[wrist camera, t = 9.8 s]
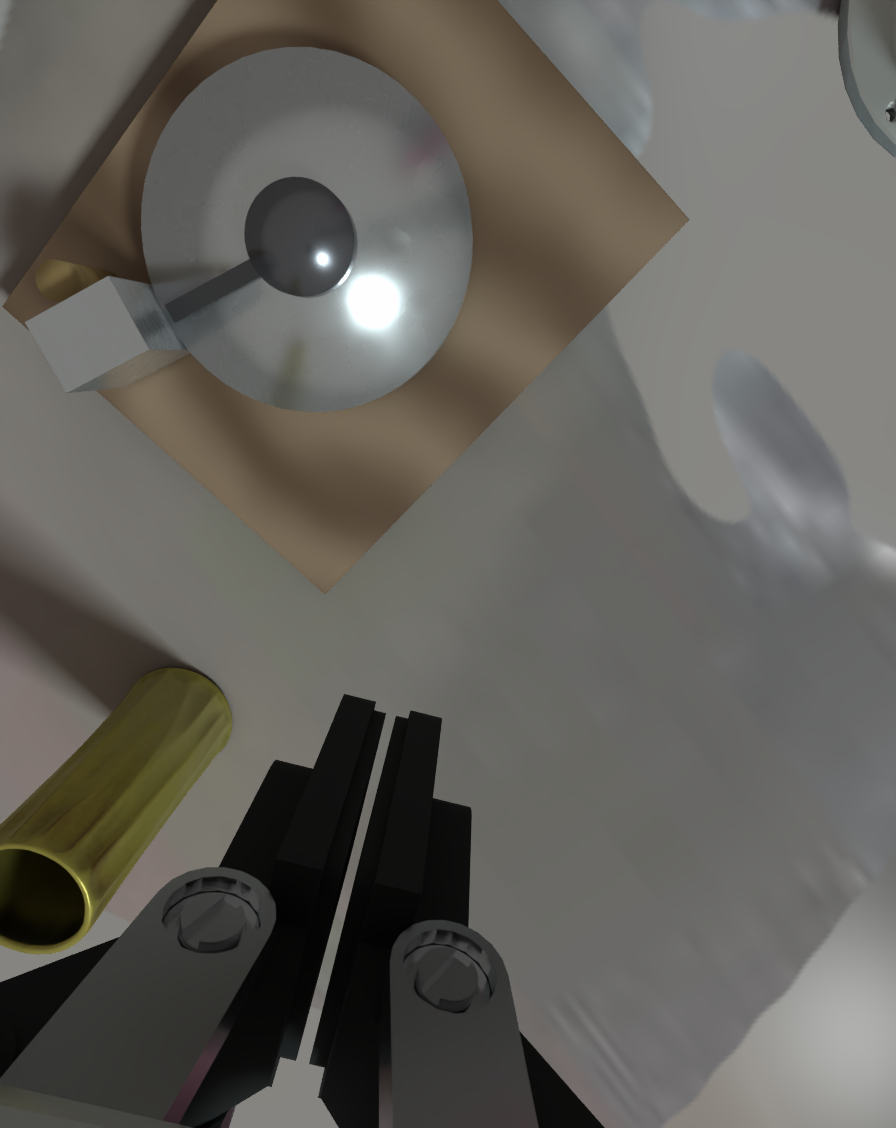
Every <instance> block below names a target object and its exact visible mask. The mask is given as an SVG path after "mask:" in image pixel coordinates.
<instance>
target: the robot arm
mask: <svg viewBox="0 0 896 1128" xmlns="http://www.w3.org/2000/svg"><path fill="white" fill-rule="evenodd" d="M838 44H839V61H840V65H841V70H842V75H843V80H844V84H845V89H846V91H847V94H848V96H849V98H850V101H851V103H852V105H853V108H854V110H855V112H856V114H857V116H858V118H859V119H860V121H861V122H862V123H863V125H864V126H865V128H866V129H867V131H868V132H869V133H870V135H871V136H872V137H873V139H874V140H875V141H876V142H878V143H879V144H880V145H881V146H882V147H883V148H884V149H886V150H887V151H888V152H889V153H890V154H891V155H892V156H893V157H895V158H896V0H841V6H840V13H839V21H838ZM886 112H888V113H889V114H890V121H888V120H887V118H886V115H885V113H886ZM375 703H376V702H374V701H370V700H366V699H362V698H358V697H354V696H350V695H346V694H344V696H343V698H342V700H341V703H340V705H339V707H338V710H337V712H336V715H335V717H334V720H333V722H332V724H331V727H330V729H329V732H328V734H327V737H326V739H325V741H324V744H323V746H322V749H321V751H320V754H319V756H318V758H317V761H316V763H315V766H314V768H313V769H312V768H307V767H303V766H299V765H295V764H291V763H287V762H283V761H279V760H275V761H274V762H273V764H272V765H271V767H270V769H269V771H268V773H267V775H266V777H265V779H264V781H263V782H262V784H261V786H260V788H259V790H258V792H257V794H256V796H255V798H254V800H253V802H252V804H251V806H250V808H249V810H248V811H247V813H246V815H245V817H244V819H243V821H242V823H241V825H240V827H239V829H238V831H237V833H236V835H235V837H234V839H233V840H232V842H231V844H230V846H229V848H228V850H227V852H226V854H225V856H224V858H223V860H222V862H221V864H220V866H219V867H206V868H202V869H198V870H193V871H189V872H186V873H184V874H182V875H180V876H178V877H176V878H174V879H172V880H171V881H170V882H169V883H167V884H166V885H165V886H164V887H163V888H162V889H161V890H159V891H158V892H157V894H156V895H155V896H154V897H153V898H152V899H151V901H150V902H149V903H148V904H147V905H146V907H145V908H144V909H143V910H142V911H141V912H140V914H139V915H138V916H137V917H136V918H135V920H134V921H133V922H132V923H131V924H130V925H129V927H128V928H127V929H126V930H125V931H124V933H123V934H122V935H121V936H120V937H118V938H116V939H113V940H110V941H108V942H105V943H102V944H100V945H97V946H94V947H92V948H89V949H87V950H84V951H82V952H79V953H76V954H74V955H71V956H68V957H66V958H63V959H60V960H58V961H55V962H52V963H50V964H47V965H45V966H42V967H39V968H37V969H34V970H32V971H29V972H26V973H24V974H21V975H18V976H16V977H14V978H11V979H8V980H5V981H3V982H0V1128H229V1126H230V1123H231V1120H232V1117H233V1114H234V1111H235V1106H236V1105H237V1104H239V1103H240V1102H242V1101H244V1100H245V1099H247V1098H249V1097H250V1096H252V1095H254V1094H255V1093H257V1092H259V1091H260V1090H262V1089H263V1088H265V1087H267V1086H270V1087H272V1083H273V1080H274V1077H275V1073H276V1070H277V1066H278V1063H279V1059H280V1057H283V1058H287V1059H291V1060H295V1061H296V1058H297V1055H298V1051H299V1047H300V1044H301V1039H302V1036H303V1032H304V1029H305V1025H306V1021H307V1017H308V1014H309V1010H310V1006H311V1002H312V999H313V995H314V991H315V987H316V984H317V980H318V976H319V972H320V969H321V965H322V961H323V957H324V954H325V950H326V946H327V942H328V939H329V935H330V931H331V928H332V924H333V920H334V916H335V913H336V909H337V905H338V901H339V898H340V894H341V890H342V886H343V883H344V879H345V875H346V871H347V868H348V864H349V860H350V856H351V852H352V848H353V844H354V840H355V836H356V832H357V828H358V824H359V820H360V816H361V812H362V808H363V804H364V800H365V796H366V792H367V788H368V784H369V780H370V776H371V772H372V768H373V764H374V760H375V756H376V752H377V748H378V744H379V740H380V736H381V732H382V728H383V724H384V720H385V715H386V713H383V712H379V711H375V710H374V708H375ZM441 723H442V718H439V717H435V716H431V715H427V714H423V713H419V712H415V711H410V714H409V718H408V719H407V718H403V717H399V716H396V718H395V722H394V726H393V730H392V734H391V738H390V742H389V746H388V750H387V754H386V758H385V762H384V766H383V769H382V773H381V777H380V781H379V785H378V789H377V793H376V797H375V801H374V805H373V809H372V813H371V817H370V821H369V825H368V829H367V833H366V836H365V840H364V844H363V848H362V852H361V856H360V860H359V864H358V868H357V872H356V876H355V880H354V884H353V888H352V892H351V897H350V901H349V905H348V909H347V913H346V917H345V921H344V925H343V929H342V933H341V937H340V941H339V945H338V949H337V953H336V957H335V961H334V965H333V969H332V973H331V977H330V981H329V985H328V989H327V994H326V998H325V1002H324V1006H323V1010H322V1014H321V1018H320V1022H319V1026H318V1030H317V1034H316V1038H315V1042H314V1046H313V1050H312V1054H311V1058H310V1064H312V1065H317V1066H321V1067H325V1070H324V1074H323V1078H322V1083H321V1087H320V1092H319V1096H318V1098H321V1099H322V1101H323V1102H324V1104H325V1106H326V1107H327V1109H328V1110H329V1112H330V1114H331V1116H332V1117H333V1119H334V1120H335V1122H336V1124H337V1125H338V1127H339V1128H604V1127H603V1126H602V1124H601V1123H600V1122H599V1121H598V1120H597V1119H596V1118H595V1116H594V1115H593V1114H592V1113H591V1112H590V1111H589V1110H588V1108H587V1107H586V1106H585V1105H584V1104H583V1103H582V1102H581V1100H580V1099H579V1098H578V1097H577V1096H576V1095H575V1094H574V1093H573V1091H572V1090H571V1089H570V1088H569V1087H568V1086H567V1085H566V1083H565V1082H564V1081H563V1080H562V1079H561V1078H560V1077H559V1075H558V1074H557V1073H556V1072H555V1071H554V1070H553V1069H552V1067H551V1066H550V1065H549V1064H548V1063H547V1062H546V1061H545V1060H544V1058H543V1057H542V1056H541V1055H540V1054H539V1053H538V1052H537V1050H536V1049H535V1048H534V1047H533V1046H532V1045H531V1044H530V1042H529V1041H528V1040H527V1039H526V1038H525V1037H524V1036H523V1034H522V1033H521V1032H520V1031H519V1027H518V1022H517V1017H516V1012H515V1007H514V1002H513V997H512V992H511V987H510V982H509V977H508V973H507V971H506V968H505V965H504V962H503V960H502V958H501V957H500V955H499V954H498V952H497V951H496V950H495V948H494V947H493V945H492V944H491V943H489V942H488V941H487V940H486V939H485V938H484V937H482V936H481V935H480V934H479V933H478V932H476V931H474V930H472V929H470V928H468V919H469V885H470V852H471V818H472V814H471V808H470V807H467V806H463V805H459V804H455V803H451V802H447V801H442V800H438V799H434V798H433V791H434V783H435V774H436V766H437V757H438V749H439V740H440V732H441Z"/></svg>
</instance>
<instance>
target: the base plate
mask: <svg viewBox="0 0 896 1128" xmlns="http://www.w3.org/2000/svg"><path fill="white" fill-rule="evenodd" d="M284 47H313V48H319V49H326V50H332V51H336V52H339V53H342V54H345V55H348V56H352V57H355V58H357V59H359V60H361V61H363V62H365V63H368V64H370V65H372V66H374V67H376V68H378V69H379V70H381V71H382V72H384V73H385V74H387V75H388V76H390V77H391V78H393V79H394V80H396V81H397V82H398V83H399V84H401V85H402V86H403V87H404V88H405V89H406V90H407V91H408V92H409V93H411V94H412V95H413V96H414V97H415V98H416V99H417V100H418V101H419V102H420V104H421V105H422V106H423V107H424V108H425V109H426V111H427V112H428V113H429V114H430V115H431V116H432V118H433V119H434V121H435V122H436V124H437V125H438V127H439V128H440V130H441V131H442V133H443V134H444V136H445V137H446V139H447V141H448V143H449V145H450V147H451V150H452V152H453V154H454V156H455V158H456V160H457V162H458V165H459V168H460V171H461V174H462V177H463V180H464V183H465V186H466V191H467V196H468V200H469V205H470V211H471V221H472V232H473V257H472V267H471V274H470V280H469V285H468V289H467V292H466V296H465V299H464V303H463V306H462V308H461V311H460V313H459V316H458V318H457V320H456V323H455V325H454V327H453V328H452V330H451V332H450V334H449V335H448V337H447V339H446V341H445V342H444V344H443V345H442V346H441V348H440V349H439V350H438V352H437V353H436V354H435V355H434V357H433V358H432V359H431V360H430V361H429V362H428V363H427V364H426V365H425V366H424V367H423V368H422V369H421V370H420V371H419V372H418V373H417V374H416V375H415V376H414V377H412V378H411V379H410V380H408V381H407V382H406V383H404V384H403V385H402V386H400V387H398V388H397V389H395V390H393V391H391V392H390V393H388V394H386V395H384V396H382V397H380V398H377V399H375V400H372V401H370V402H367V403H365V404H362V405H359V406H355V407H351V408H347V409H343V410H336V411H327V412H301V411H294V410H288V409H282V408H278V407H275V406H272V405H268V404H265V403H262V402H259V401H257V400H255V399H252V398H250V397H248V396H246V395H243V394H241V393H240V392H238V391H236V390H235V389H233V388H232V387H230V386H228V385H227V384H225V383H223V382H222V381H221V380H220V379H218V378H217V377H216V376H215V375H213V374H212V373H211V372H209V371H208V370H207V369H206V368H205V367H204V366H203V365H202V364H201V363H200V362H199V361H198V360H197V359H196V358H195V357H194V356H193V355H192V354H191V353H189V354H188V355H186V356H184V357H182V358H180V359H178V360H176V361H174V362H172V363H170V364H168V365H166V366H165V367H163V368H161V369H159V370H157V371H155V372H153V373H151V374H149V375H147V376H145V377H144V378H142V379H140V380H138V381H136V382H134V383H132V384H130V385H128V386H126V387H123V388H113V389H103V390H96V391H98V392H99V393H100V394H101V395H102V396H103V397H104V398H105V399H106V400H108V401H109V402H110V403H111V404H112V405H113V406H114V407H115V408H117V409H118V410H119V411H120V412H121V413H122V414H123V415H124V416H126V417H127V418H128V419H129V420H130V421H131V422H132V423H133V424H135V425H136V426H137V427H138V428H139V429H140V430H141V431H142V432H143V433H145V434H146V435H147V436H148V437H149V438H150V439H151V440H152V441H154V442H155V443H156V444H157V445H158V446H159V447H160V448H161V449H163V450H164V451H165V452H166V453H167V454H168V455H169V456H170V457H172V458H173V459H174V460H175V461H176V462H177V463H178V464H179V465H180V466H182V467H183V468H184V469H185V470H186V471H187V472H188V473H189V474H191V475H192V476H193V477H194V478H195V479H196V480H197V481H198V482H200V483H201V484H202V485H203V486H204V487H205V488H206V489H207V490H209V491H210V492H211V493H212V494H213V495H214V496H215V497H216V498H217V499H219V500H220V501H221V502H222V503H223V504H224V505H225V506H226V507H228V508H229V509H230V510H231V511H232V512H233V513H234V514H235V515H237V516H238V517H239V518H240V519H241V520H242V521H243V522H244V523H246V524H247V525H248V526H249V527H250V528H251V529H252V530H253V531H254V532H256V533H257V534H258V535H259V536H260V537H261V538H262V539H263V540H265V541H266V542H267V543H268V544H269V545H270V546H271V547H272V548H274V549H275V550H276V551H277V552H278V553H279V554H280V555H281V556H283V557H284V558H285V559H286V560H287V561H288V562H289V563H290V564H291V565H293V566H294V567H295V568H296V569H297V570H298V571H299V572H300V573H302V574H303V575H304V576H305V577H306V578H307V579H308V580H309V581H311V582H312V583H313V584H314V585H315V586H316V587H317V588H318V589H320V590H321V591H322V592H323V593H324V594H326V593H327V592H328V591H329V590H330V589H331V588H332V587H333V586H334V585H335V584H336V583H337V582H338V581H339V579H340V578H341V577H342V576H343V575H344V574H345V573H346V572H347V571H348V570H349V569H350V568H351V567H352V566H353V565H354V564H355V563H356V562H357V561H358V560H359V559H360V558H361V557H362V556H363V555H364V554H365V553H366V552H367V551H368V550H369V549H370V548H371V547H372V546H373V545H374V544H375V542H376V541H377V540H378V539H379V538H380V537H381V536H382V535H383V534H384V533H385V532H386V531H387V530H388V529H389V528H390V527H391V526H392V525H393V524H394V523H395V522H396V521H397V520H398V519H399V518H400V517H401V516H402V515H403V514H404V513H405V512H406V511H407V510H408V509H409V508H410V506H411V505H412V504H413V503H414V502H415V501H416V500H417V499H418V498H419V497H420V496H421V495H422V494H423V493H424V492H425V491H426V490H427V489H428V488H429V487H430V486H431V485H432V484H433V483H434V482H435V481H436V480H437V479H438V478H439V477H440V476H441V475H442V474H443V473H444V472H445V471H446V469H447V468H448V467H449V466H450V465H451V464H452V463H453V462H454V461H455V460H456V459H457V458H458V457H459V456H460V455H461V454H462V453H463V452H464V451H465V450H466V449H467V448H468V447H469V446H470V445H471V444H472V443H473V442H474V441H475V440H476V439H477V438H478V437H479V436H480V435H481V433H482V432H483V431H484V430H485V429H486V428H487V427H488V426H489V425H490V424H491V423H492V422H493V421H494V420H495V419H496V418H497V417H498V416H499V415H500V414H501V413H502V412H503V411H504V410H505V409H506V408H507V407H508V406H509V405H510V404H511V403H512V402H513V401H514V400H515V399H516V398H517V396H518V395H519V394H520V393H521V392H522V391H523V390H524V389H525V388H526V387H527V386H528V385H529V384H530V383H531V382H532V381H533V380H534V379H535V378H536V377H537V376H538V375H539V374H540V373H541V372H542V371H543V370H544V369H545V368H546V367H547V366H548V365H549V364H550V363H551V362H552V360H553V359H554V358H555V357H556V356H557V355H558V354H559V353H560V352H561V351H562V350H563V349H564V348H565V347H566V346H567V345H568V344H569V343H570V342H571V341H572V340H573V339H574V338H575V337H576V336H577V335H578V334H579V333H580V332H581V331H582V330H583V329H584V328H585V327H586V326H587V324H588V323H589V322H590V321H591V320H592V319H593V318H594V317H595V316H596V315H597V314H598V313H599V312H600V311H601V310H602V309H603V308H604V307H605V306H606V305H607V304H608V303H609V302H610V301H611V300H612V299H613V298H614V297H615V296H616V295H617V293H618V292H620V290H622V288H623V287H624V286H625V285H626V284H627V283H628V282H629V281H630V280H631V279H632V278H633V277H634V276H635V275H636V274H637V273H638V272H639V271H640V270H641V269H642V268H643V267H644V266H645V265H646V264H647V263H648V262H649V260H650V259H652V258H653V257H654V256H655V254H656V253H658V251H659V250H660V249H661V248H662V247H663V246H664V245H665V244H666V243H667V242H668V241H669V240H670V239H671V238H672V237H673V236H674V235H675V234H676V233H677V232H678V231H679V230H680V229H681V228H682V227H683V226H684V225H685V223H687V222H688V221H689V218H688V217H687V216H686V215H685V214H684V213H683V212H682V211H681V209H680V208H679V207H678V206H677V205H676V204H675V203H674V201H673V200H672V199H671V198H670V197H669V196H668V195H667V193H666V192H665V191H664V190H663V189H662V188H661V187H660V186H659V184H658V183H657V182H656V181H655V180H654V179H653V177H652V176H651V175H650V174H649V173H648V172H647V171H646V169H645V168H644V167H643V166H642V165H641V164H640V163H639V161H638V160H637V159H636V158H635V157H634V156H633V155H632V153H631V152H630V151H629V150H628V149H627V148H626V147H625V145H624V144H623V143H622V142H621V141H620V140H619V139H618V137H617V136H616V135H615V134H614V133H613V132H612V131H611V129H610V128H609V127H608V126H607V125H606V124H605V123H604V122H603V120H602V119H601V118H600V117H599V116H598V115H597V114H596V112H595V111H594V110H593V109H592V108H591V107H590V106H589V104H588V103H587V102H586V101H585V100H584V99H583V98H582V96H581V95H580V94H579V93H578V92H577V91H576V90H575V88H574V87H573V86H572V85H571V84H570V83H569V82H568V80H567V79H566V78H565V77H564V76H563V75H562V74H561V72H560V71H559V70H558V69H557V68H556V67H555V66H554V64H553V63H552V62H551V61H550V60H549V59H548V58H547V56H546V55H545V54H544V53H543V52H542V51H541V50H540V48H539V47H538V46H537V45H536V44H535V43H534V42H533V41H532V39H531V38H530V37H529V36H528V35H527V34H526V33H525V31H524V30H523V29H522V28H521V27H520V26H519V25H518V23H517V22H516V21H515V20H514V19H513V18H512V17H511V15H510V14H509V13H508V12H507V11H506V10H505V9H504V7H503V6H502V5H501V4H500V3H499V2H498V1H497V0H217V2H216V3H215V5H214V6H213V7H212V9H211V10H210V12H209V13H208V14H207V16H206V17H205V19H204V20H203V22H202V23H201V24H200V26H199V27H198V29H197V30H196V32H195V33H194V34H193V36H192V37H191V39H190V40H189V42H188V43H187V44H186V46H185V47H184V49H183V50H182V51H181V53H180V54H179V56H178V57H177V59H176V60H175V61H174V63H173V64H172V66H171V67H170V69H169V70H168V71H167V73H166V74H165V76H164V77H163V79H162V80H161V81H160V83H159V84H158V86H157V87H156V88H155V90H154V91H153V93H152V94H151V96H150V97H149V98H148V100H147V101H146V103H145V104H144V106H143V107H142V108H141V110H140V111H139V113H138V114H137V116H136V117H135V118H134V120H133V121H132V123H131V124H130V126H129V127H128V128H127V130H126V131H125V133H124V134H123V135H122V137H121V138H120V140H119V141H118V143H117V144H116V145H115V147H114V148H113V150H112V151H111V153H110V154H109V155H108V157H107V158H106V160H105V161H104V163H103V164H102V165H101V167H100V168H99V170H98V171H97V172H96V174H95V175H94V177H93V178H92V180H91V181H90V182H89V184H88V185H87V187H86V188H85V190H84V191H83V192H82V194H81V195H80V197H79V198H78V200H77V201H76V202H75V204H74V205H73V207H72V208H71V209H70V211H69V212H68V214H67V215H66V217H65V218H64V219H63V221H62V222H61V224H60V225H59V227H58V228H57V229H56V231H55V232H54V234H53V235H52V237H51V238H50V239H49V241H48V242H47V244H46V245H45V247H44V248H43V249H42V251H41V252H40V254H39V255H38V256H37V258H36V259H35V261H34V262H33V264H32V265H31V266H30V268H29V269H28V271H27V272H26V274H25V275H24V276H23V278H22V279H21V281H20V282H19V284H18V285H17V286H16V288H15V289H14V291H13V292H12V293H11V295H10V296H9V298H8V299H7V301H6V302H5V303H4V305H3V306H2V307H3V308H4V309H6V310H7V311H8V312H9V313H10V314H11V315H12V316H13V317H15V318H16V319H17V320H18V321H19V322H20V323H21V324H22V325H24V326H25V327H26V328H27V329H28V327H27V325H26V324H25V322H26V321H28V320H30V319H32V318H33V317H35V316H37V315H39V314H41V313H42V312H44V311H46V310H48V309H50V308H51V307H53V306H55V305H57V304H59V303H60V302H62V301H64V300H66V299H67V298H69V297H71V296H73V295H75V294H76V293H78V292H80V291H82V290H84V289H85V288H87V287H89V286H91V285H93V284H94V283H96V282H98V281H100V280H102V279H103V278H105V277H107V276H111V277H116V278H121V279H126V280H131V281H136V282H141V283H146V284H151V281H150V278H149V275H148V271H147V266H146V261H145V257H144V252H143V243H142V232H141V207H142V197H143V190H144V183H145V178H146V175H147V171H148V167H149V164H150V160H151V157H152V154H153V152H154V149H155V147H156V145H157V142H158V140H159V137H160V135H161V133H162V132H163V130H164V128H165V127H166V125H167V123H168V121H169V120H170V118H171V116H172V115H173V113H174V112H175V111H176V110H177V108H178V107H179V106H180V104H181V103H182V102H183V101H184V99H185V98H186V97H187V96H188V95H189V94H190V93H191V92H192V91H193V90H194V89H195V88H196V87H197V86H198V85H199V84H200V83H202V82H203V81H204V80H205V79H207V78H208V77H209V76H211V75H212V74H214V73H215V72H217V71H218V70H219V69H221V68H222V67H224V66H226V65H228V64H230V63H232V62H234V61H236V60H238V59H240V58H242V57H245V56H249V55H252V54H255V53H258V52H261V51H264V50H271V49H277V48H284ZM151 285H152V284H151ZM28 330H29V329H28ZM29 331H30V330H29Z"/></svg>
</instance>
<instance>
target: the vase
mask: <svg viewBox="0 0 896 1128" xmlns="http://www.w3.org/2000/svg"><path fill="white" fill-rule="evenodd" d="M231 730H232V714H231V710H230V707H229V704H228V702H227V700H226V698H225V697H224V695H223V694H222V692H221V691H220V690H219V689H218V687H217V686H216V685H214V684H213V683H212V682H211V681H210V680H208V679H207V678H205V677H204V676H202V675H200V674H198V673H196V672H193V671H190V670H186V669H182V668H163V669H159V670H156V671H153V672H150V673H148V674H146V675H144V676H143V677H141V678H140V679H139V680H138V681H137V682H136V683H135V684H134V685H133V687H132V688H131V689H130V691H129V692H128V694H127V695H126V697H125V698H124V699H123V701H122V702H121V703H120V704H119V705H118V707H117V708H116V709H115V710H114V711H113V712H112V713H111V715H110V716H109V717H108V718H107V719H106V720H105V721H104V722H103V723H102V724H101V725H100V727H99V728H98V729H97V730H96V731H95V732H94V733H93V734H92V735H91V736H90V737H89V738H88V740H87V741H86V742H85V743H84V744H83V745H82V746H81V747H80V748H79V749H78V750H77V751H76V752H75V753H74V754H73V755H72V756H71V757H70V758H69V759H68V760H67V761H66V762H65V763H64V764H63V765H62V766H61V767H60V768H59V769H58V770H57V771H56V772H55V773H54V774H53V775H52V776H51V777H50V778H49V779H47V780H46V781H45V782H44V783H43V784H42V785H41V786H40V787H39V788H38V789H37V790H36V791H35V792H34V793H33V794H32V795H31V796H30V797H29V798H28V799H27V800H26V801H25V802H24V803H23V804H22V805H21V806H20V807H19V808H18V809H16V810H15V811H14V812H13V813H12V814H11V815H10V816H9V817H8V818H7V819H6V820H5V821H4V822H3V823H2V824H1V825H0V945H2V946H4V947H7V948H9V949H12V950H15V951H19V952H23V953H29V954H52V953H56V952H60V951H62V950H65V949H68V948H70V947H71V946H73V945H75V944H76V943H77V942H79V941H80V940H81V939H82V938H83V937H84V936H85V935H86V934H87V933H88V931H89V930H90V929H91V927H92V926H93V925H94V923H95V922H96V920H97V919H98V917H99V916H100V914H101V913H102V911H103V910H104V908H105V907H106V905H107V904H108V903H109V901H110V900H111V898H112V897H113V895H114V894H115V892H116V891H117V890H118V888H119V887H120V885H121V884H122V882H123V881H124V880H125V878H126V877H127V875H128V874H129V872H130V871H131V870H132V868H133V867H134V865H135V864H136V862H137V861H138V859H139V858H140V857H141V855H142V854H143V853H144V851H145V850H146V849H147V847H148V846H149V844H150V843H151V842H152V840H153V839H154V838H155V836H156V835H157V834H158V832H159V831H160V829H161V828H162V827H163V825H164V824H165V822H166V821H167V820H168V818H169V817H170V815H171V814H172V813H173V811H174V810H175V809H176V807H177V806H178V805H179V803H180V802H181V801H182V799H183V798H184V797H185V795H186V794H187V792H188V791H189V790H190V788H191V787H192V786H193V784H194V783H195V782H196V781H197V780H198V778H199V777H200V776H201V774H202V773H203V772H204V771H205V769H206V768H207V767H208V765H209V764H210V762H211V761H212V759H213V758H214V757H215V756H216V755H217V754H218V753H219V752H220V751H221V750H222V749H223V748H224V747H225V745H226V744H227V742H228V740H229V737H230V734H231Z"/></svg>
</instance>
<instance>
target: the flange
mask: <svg viewBox="0 0 896 1128" xmlns="http://www.w3.org/2000/svg"><path fill="white" fill-rule="evenodd" d="M141 232H142V243H143V252H144V257H145V261H146V266H147V271H148V275H149V278H150V281H151V284H152V285H151V284H146V283H141V282H136V281H131V280H126V279H121V278H116V277H111V276H107V277H105V278H103V279H102V280H100V281H98V282H96V283H94V284H93V285H91V286H89V287H87V288H85V289H84V290H82V291H80V292H78V293H76V294H75V295H73V296H71V297H69V298H67V299H66V300H64V301H62V302H60V303H59V304H57V305H55V306H53V307H51V308H50V309H48V310H46V311H44V312H42V313H41V314H39V315H37V316H35V317H33V318H32V319H30V320H28V321H26V322H25V324H26V325H27V327H28V329H29V330H30V332H31V334H32V336H33V337H34V339H35V341H36V342H37V344H38V346H39V347H40V349H41V351H42V352H43V354H44V356H45V357H46V359H47V361H48V362H49V364H50V366H51V368H52V369H53V371H54V373H55V374H56V376H57V378H58V379H59V381H60V383H61V384H62V386H63V388H64V389H65V391H66V393H73V392H83V391H93V390H103V389H113V388H123V387H126V386H128V385H130V384H132V383H134V382H136V381H138V380H140V379H142V378H144V377H145V376H147V375H149V374H151V373H153V372H155V371H157V370H159V369H161V368H163V367H165V366H166V365H168V364H170V363H172V362H174V361H176V360H178V359H180V358H182V357H184V356H186V355H188V354H189V353H191V354H192V355H193V356H194V357H195V358H196V359H197V360H198V361H199V362H200V363H201V364H202V365H203V366H204V367H205V368H206V369H207V370H208V371H209V372H211V373H212V374H213V375H215V376H216V377H217V378H218V379H220V380H221V381H222V382H223V383H225V384H227V385H228V386H230V387H232V388H233V389H235V390H236V391H238V392H240V393H241V394H243V395H246V396H248V397H250V398H252V399H255V400H257V401H259V402H262V403H265V404H268V405H272V406H275V407H278V408H282V409H288V410H294V411H301V412H327V411H336V410H343V409H347V408H351V407H355V406H359V405H362V404H365V403H367V402H370V401H372V400H375V399H377V398H380V397H382V396H384V395H386V394H388V393H390V392H391V391H393V390H395V389H397V388H398V387H400V386H402V385H403V384H404V383H406V382H407V381H408V380H410V379H411V378H412V377H414V376H415V375H416V374H417V373H418V372H419V371H420V370H421V369H422V368H423V367H424V366H425V365H426V364H427V363H428V362H429V361H430V360H431V359H432V358H433V357H434V355H435V354H436V353H437V352H438V350H439V349H440V348H441V346H442V345H443V344H444V342H445V341H446V339H447V337H448V335H449V334H450V332H451V330H452V328H453V327H454V325H455V323H456V320H457V318H458V316H459V313H460V311H461V308H462V306H463V303H464V299H465V296H466V292H467V289H468V285H469V280H470V274H471V267H472V257H473V232H472V221H471V211H470V205H469V200H468V196H467V191H466V186H465V183H464V180H463V177H462V174H461V171H460V168H459V165H458V162H457V160H456V158H455V156H454V154H453V152H452V150H451V147H450V145H449V143H448V141H447V139H446V137H445V136H444V134H443V133H442V131H441V130H440V128H439V127H438V125H437V124H436V122H435V121H434V119H433V118H432V116H431V115H430V114H429V113H428V112H427V111H426V109H425V108H424V107H423V106H422V105H421V104H420V102H419V101H418V100H417V99H416V98H415V97H414V96H413V95H412V94H411V93H409V92H408V91H407V90H406V89H405V88H404V87H403V86H402V85H401V84H399V83H398V82H397V81H396V80H394V79H393V78H391V77H390V76H388V75H387V74H385V73H384V72H382V71H381V70H379V69H378V68H376V67H374V66H372V65H370V64H368V63H365V62H363V61H361V60H359V59H357V58H355V57H352V56H348V55H345V54H342V53H339V52H336V51H332V50H326V49H319V48H313V47H284V48H277V49H271V50H264V51H261V52H258V53H255V54H252V55H249V56H245V57H242V58H240V59H238V60H236V61H234V62H232V63H230V64H228V65H226V66H224V67H222V68H221V69H219V70H218V71H217V72H215V73H214V74H212V75H211V76H209V77H208V78H207V79H205V80H204V81H203V82H202V83H200V84H199V85H198V86H197V87H196V88H195V89H194V90H193V91H192V92H191V93H190V94H189V95H188V96H187V97H186V98H185V99H184V101H183V102H182V103H181V104H180V106H179V107H178V108H177V110H176V111H175V112H174V113H173V115H172V116H171V118H170V120H169V121H168V123H167V125H166V127H165V128H164V130H163V132H162V133H161V135H160V137H159V140H158V142H157V145H156V147H155V149H154V152H153V154H152V157H151V160H150V164H149V167H148V171H147V175H146V178H145V183H144V190H143V197H142V207H141Z"/></svg>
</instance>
